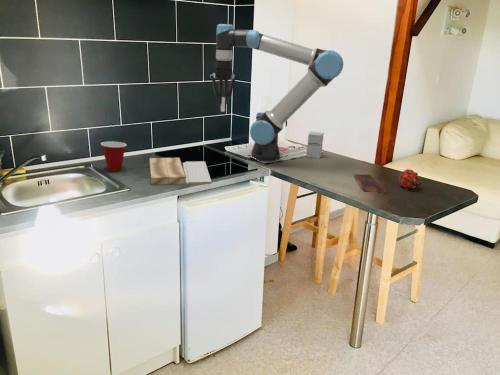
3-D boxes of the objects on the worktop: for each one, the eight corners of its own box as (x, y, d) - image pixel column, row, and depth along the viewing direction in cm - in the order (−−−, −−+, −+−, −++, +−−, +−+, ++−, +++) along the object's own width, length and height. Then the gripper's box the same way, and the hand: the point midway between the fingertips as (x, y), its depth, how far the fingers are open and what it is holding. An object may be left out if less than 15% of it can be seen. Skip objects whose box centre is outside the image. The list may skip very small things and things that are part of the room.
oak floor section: (179, 163, 203) (179, 157, 202) (186, 183, 176) (186, 176, 175) (149, 164, 200) (149, 158, 199) (151, 184, 172) (151, 177, 171)
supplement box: (305, 157, 226) (308, 133, 222) (307, 154, 233) (310, 131, 229) (319, 158, 225) (322, 135, 220) (321, 155, 231) (323, 132, 227)
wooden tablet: (351, 172, 201) (373, 170, 200) (351, 176, 201) (373, 175, 201) (363, 190, 176) (387, 189, 175) (363, 195, 176) (387, 194, 176)
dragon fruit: (404, 186, 192) (412, 199, 181) (390, 175, 190) (398, 187, 179) (418, 173, 189) (427, 185, 178) (405, 161, 186) (413, 173, 176)
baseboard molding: (182, 185, 175) (211, 185, 178) (182, 178, 175) (211, 178, 177) (179, 164, 204) (204, 164, 207) (179, 158, 203) (204, 158, 206)
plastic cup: (131, 170, 189) (130, 144, 185) (108, 174, 183) (106, 147, 179) (122, 164, 197) (120, 139, 193) (98, 168, 191) (96, 141, 187)
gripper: (236, 59, 202) (234, 109, 210) (208, 58, 199) (207, 109, 207) (239, 60, 195) (237, 112, 203) (211, 59, 192) (210, 112, 200)
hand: (222, 111), depth 205 cm, fingers closed
